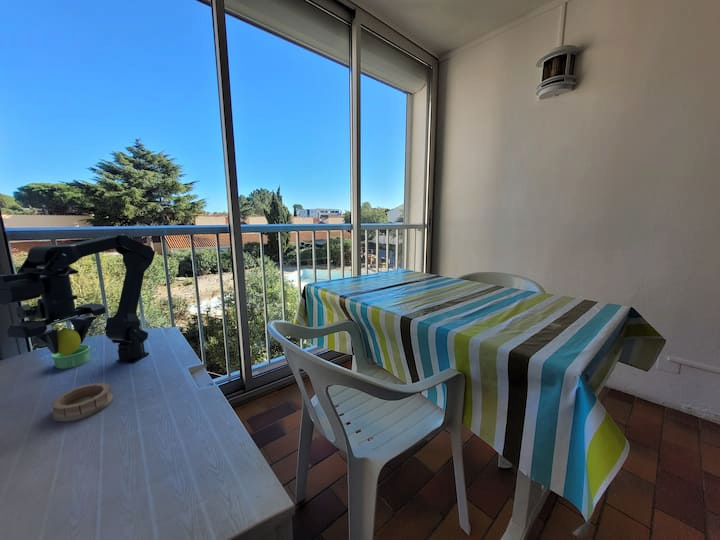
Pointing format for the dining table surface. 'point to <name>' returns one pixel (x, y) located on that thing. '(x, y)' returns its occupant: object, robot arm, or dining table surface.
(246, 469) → the dining table surface
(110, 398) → the wooden bowl
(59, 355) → the ramekin
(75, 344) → the lemon
